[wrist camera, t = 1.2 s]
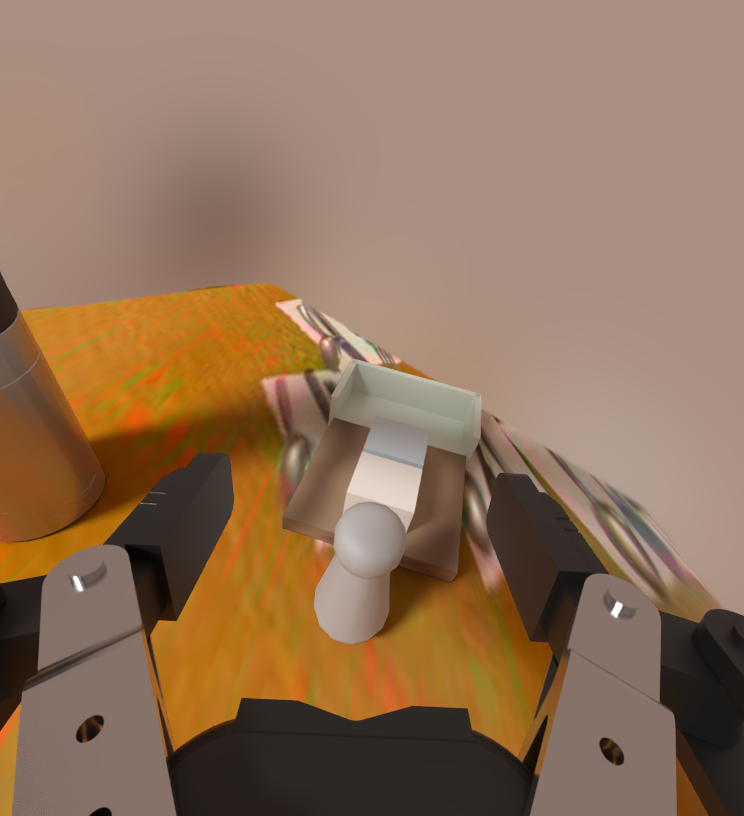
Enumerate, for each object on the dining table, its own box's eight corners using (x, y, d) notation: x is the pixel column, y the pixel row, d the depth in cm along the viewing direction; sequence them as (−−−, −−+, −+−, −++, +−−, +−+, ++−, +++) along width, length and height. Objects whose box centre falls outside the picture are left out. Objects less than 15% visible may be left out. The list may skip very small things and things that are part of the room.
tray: (327, 427, 44) (331, 396, 41) (348, 388, 51) (352, 358, 47) (465, 468, 43) (480, 439, 40) (469, 422, 49) (481, 394, 46)
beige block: (342, 514, 34) (346, 492, 31) (357, 473, 37) (362, 451, 35) (405, 534, 33) (414, 513, 31) (414, 491, 37) (422, 469, 34)
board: (282, 527, 34) (282, 516, 32) (332, 429, 44) (333, 417, 43) (450, 582, 32) (457, 572, 31) (460, 467, 43) (466, 456, 42)
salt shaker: (356, 562, 32) (381, 471, 24) (398, 620, 29) (444, 539, 21) (298, 602, 29) (303, 513, 21) (338, 672, 26) (363, 601, 18)
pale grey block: (358, 470, 38) (363, 447, 35) (370, 437, 41) (375, 415, 39) (414, 487, 37) (423, 465, 35) (421, 452, 41) (429, 431, 39)
